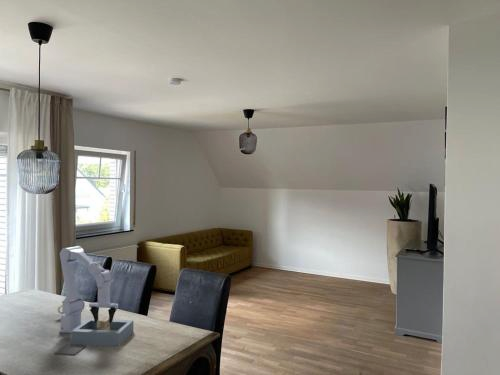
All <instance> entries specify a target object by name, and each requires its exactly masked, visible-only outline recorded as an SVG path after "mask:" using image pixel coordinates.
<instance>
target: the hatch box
mask: <svg viewBox="0 0 500 375" xmlns="http://www.w3.org/2000/svg"><path fill="white" fill-rule="evenodd" d="M99 319H100V318H98V320H99ZM133 333H134V320H133V319H131V320H129V319H113V321H112V322H111V323H110V331H106V330H97V322H95V321H94V318H91V317H90V318H88V319H87V320H85V321H84V322H81V325H79V326H78V327H76V328H75V329H73V330H72V331H71V333H70V344H75V345H90V346H91V345H93V346H94V345H95V346H111V347H119V346H120V345H121V344H122V343H123V342H125V340H126V339H128V337H130V336H131V335H132V334H133Z"/></svg>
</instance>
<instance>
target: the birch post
mask: <svg viewBox="0 0 500 375" xmlns="http://www.w3.org/2000/svg"><path fill="white" fill-rule="evenodd" d="M98 319H99V320H98V321H97V330H106V331H110V323H109V317H108V318H107V317H105V318H104V317H100V318H98Z"/></svg>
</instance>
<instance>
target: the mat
mask: <svg viewBox="0 0 500 375" xmlns="http://www.w3.org/2000/svg"><path fill="white" fill-rule="evenodd" d="M86 347H87V344H72V343H66V344H64V345H63V346H62V347H61V348H58V349H57V350H56V351H55V352H53V355H60V356H61V355H62V356H76V355H78V353H80V352H81V351H82V350H84V349H85V348H86Z"/></svg>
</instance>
